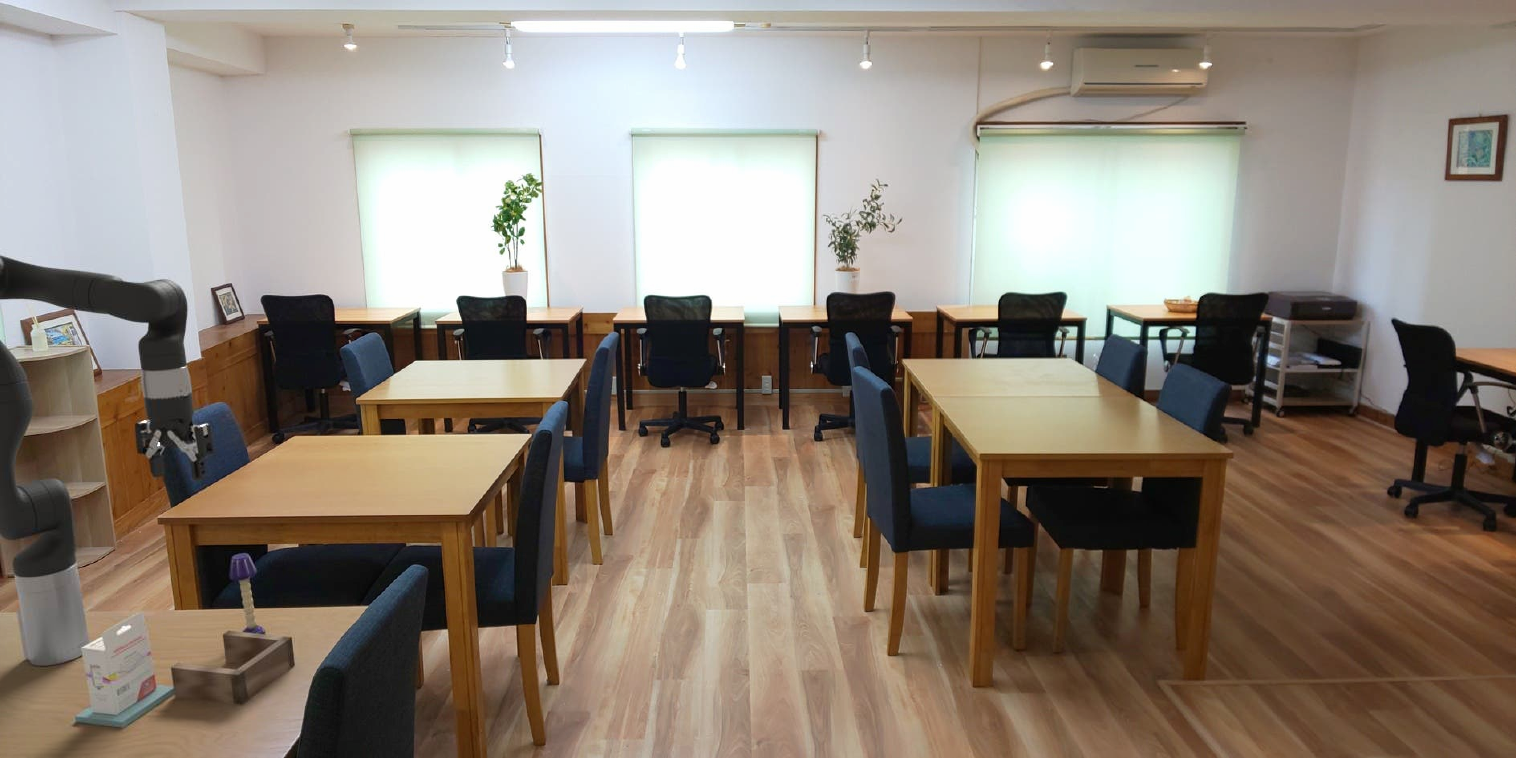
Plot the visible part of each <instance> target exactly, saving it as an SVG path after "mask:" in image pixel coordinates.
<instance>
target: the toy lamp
mask: <svg viewBox="0 0 1516 758" xmlns="http://www.w3.org/2000/svg"><path fill="white" fill-rule="evenodd" d="M257 573H258V571H257V568H256V566H255V564H254V562H253V559H252V557H251V556H250V554H248V553H247V552H243V553H242V552H241V553H238V554H235V555H232V556H231V560H230V567H229V579H230V580H232V581H238V583H239V584H240V585H239V589H240V591H241V593H240V595H241V598H242V605H243V612H244V618H245V621H246V623H245V624H246V627H245V628H244V629H243V630H242V631H241V632H246V633H256V634H265V635H266V630H265V629H264V628H263V626H261V625H259V624H258V623H257V620H256V613H255V606H254V599H253V597H252V596H253V593H252V589H251V587H252V585H251V583H250V578H252V577H255V575H257Z"/></svg>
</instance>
